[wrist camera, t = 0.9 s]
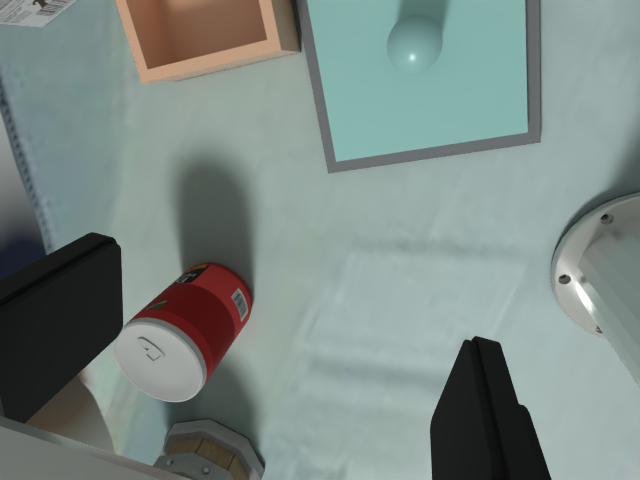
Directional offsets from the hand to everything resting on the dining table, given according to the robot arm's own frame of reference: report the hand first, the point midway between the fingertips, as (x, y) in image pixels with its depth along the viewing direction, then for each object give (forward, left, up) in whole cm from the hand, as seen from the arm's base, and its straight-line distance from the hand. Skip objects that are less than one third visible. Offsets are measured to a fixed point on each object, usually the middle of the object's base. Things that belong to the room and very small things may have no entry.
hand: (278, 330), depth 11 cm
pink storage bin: (+10, -14, -25) cm, 30 cm away
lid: (-4, -7, -25) cm, 26 cm away
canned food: (+18, +12, -25) cm, 33 cm away
